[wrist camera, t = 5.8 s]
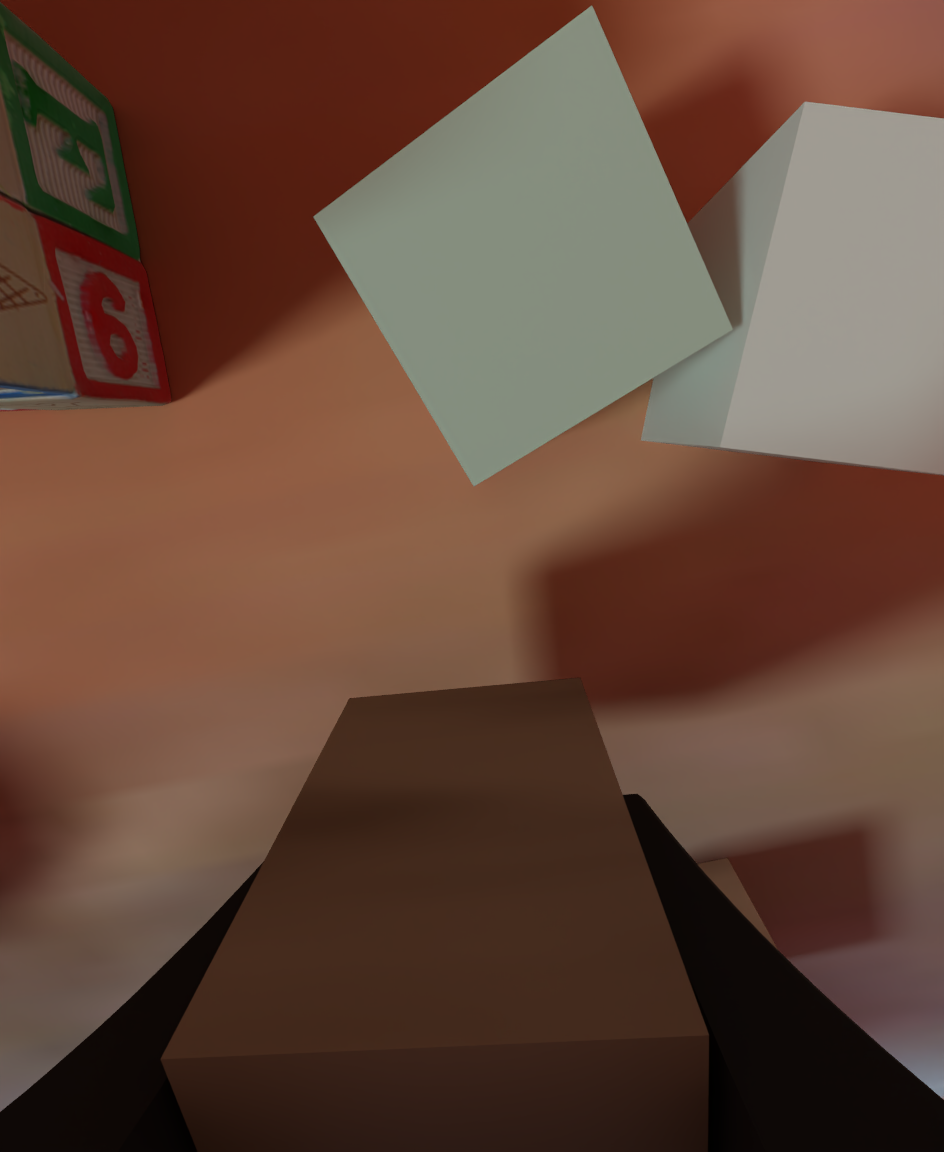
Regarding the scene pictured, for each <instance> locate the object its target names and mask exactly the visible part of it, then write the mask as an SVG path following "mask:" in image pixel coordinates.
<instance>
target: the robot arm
mask: <svg viewBox="0 0 944 1152" xmlns="http://www.w3.org/2000/svg"><path fill="white" fill-rule="evenodd" d="M623 798H624V801H625V803H626V806H627V809H628V812H629V814H630V817H631V820H632V823H633V826H634V828H635V831H636V834H637V837H638V839H639V842H640V845H641V848H642V851H643V853H644V856H645V859H646V862H647V864H648V867H649V870H650V873H651V875H652V878H653V881H654V884H655V887H656V889H657V892H658V895H659V898H660V900H661V903H662V906H663V909H664V912H665V914H666V917H667V920H668V923H669V925H670V928H671V931H672V934H673V936H674V939H675V942H676V945H677V948H678V950H679V953H680V956H681V959H682V961H683V964H684V967H685V970H686V973H687V975H688V978H689V981H690V984H691V986H692V989H693V992H694V995H695V998H696V1000H697V1003H698V1006H699V1009H700V1011H701V1014H702V1017H703V1020H704V1022H705V1025H706V1028H707V1031H708V1034H709V1096H708V1152H944V1100H943V1099H942V1098H941V1097H940V1096H938V1095H937V1094H936V1093H935V1092H934V1091H933V1090H931V1089H930V1088H929V1087H928V1086H927V1085H926V1084H924V1083H923V1082H922V1081H921V1080H920V1079H919V1078H917V1077H916V1076H915V1075H914V1074H913V1073H912V1072H910V1071H909V1070H908V1069H907V1068H906V1067H905V1066H903V1065H902V1064H901V1063H900V1062H899V1061H898V1060H896V1059H895V1058H894V1057H893V1056H892V1055H891V1054H889V1053H888V1052H887V1051H886V1050H885V1049H884V1048H882V1047H881V1046H880V1045H879V1044H878V1043H877V1042H876V1041H875V1040H873V1039H872V1038H871V1037H870V1036H869V1035H868V1034H867V1033H866V1032H865V1031H863V1030H862V1029H861V1028H860V1027H859V1026H858V1025H857V1024H856V1023H855V1022H853V1021H852V1020H851V1019H850V1018H849V1017H848V1016H847V1015H846V1014H845V1013H843V1012H842V1011H841V1010H840V1009H839V1008H838V1007H837V1006H836V1005H835V1004H834V1003H832V1002H831V1001H830V1000H829V999H828V998H827V997H826V996H825V995H824V994H823V993H822V992H821V991H820V990H819V989H817V988H816V987H815V986H814V985H813V984H812V983H811V982H810V981H809V980H808V979H807V978H806V977H805V976H804V975H803V974H802V973H801V972H800V971H799V970H798V969H797V968H796V967H794V966H793V965H792V964H791V963H790V962H789V961H788V960H787V959H786V958H785V957H784V956H783V955H782V954H781V953H780V952H779V951H778V950H777V949H776V948H775V947H774V946H773V945H772V944H771V943H770V942H769V941H768V940H767V939H766V938H765V937H764V936H763V935H762V934H761V933H760V932H759V931H758V930H757V928H756V927H755V926H754V925H753V924H752V923H751V922H750V921H749V920H748V919H747V918H746V917H745V916H744V915H743V914H742V913H741V912H740V911H739V910H738V909H737V908H736V906H735V905H734V904H733V903H732V902H731V901H730V900H729V899H728V898H727V897H726V896H725V894H724V893H723V892H722V891H721V890H720V889H719V888H718V887H717V886H716V885H715V884H714V882H713V881H712V880H711V879H710V878H709V877H708V876H707V875H706V874H705V873H704V871H703V870H702V869H701V868H700V867H699V866H698V865H697V863H696V862H695V861H694V860H693V859H692V858H691V857H690V855H689V854H688V853H687V852H686V851H685V849H684V848H683V847H682V846H681V845H680V844H679V842H678V841H677V840H676V839H675V838H674V836H673V835H672V834H671V833H670V832H669V830H668V829H667V828H666V827H665V825H664V824H663V823H662V822H661V820H660V819H659V818H658V817H657V815H656V814H655V813H654V811H653V810H652V809H651V808H650V806H649V805H648V804H647V802H646V801H645V800H644V799H643V798H642V797H641V796H640V795H638V794H629V795H623ZM263 863H264V862H263ZM263 863H262V864H263ZM262 864H261V865H260V866H259V867H258V868H257V869H256V871H255V872H254V873H253V874H252V875H251V876H250V877H249V878H248V879H247V880H246V881H245V882H244V883H243V885H242V886H241V887H240V888H239V889H238V890H237V891H236V892H235V893H234V894H233V895H232V896H231V897H230V898H229V899H228V900H227V902H226V903H225V904H224V905H223V906H222V907H221V908H220V909H219V910H218V911H217V912H216V913H215V914H214V915H213V916H212V917H211V919H210V920H209V921H208V922H207V923H206V924H205V925H204V926H203V927H202V928H201V929H200V930H199V931H198V932H197V933H196V934H195V935H194V936H193V937H192V938H191V939H190V940H189V941H188V942H187V943H186V944H185V945H184V946H183V947H182V948H181V949H180V950H179V951H178V952H177V953H176V954H175V955H174V956H173V957H172V958H171V959H170V960H169V961H168V962H167V963H166V964H165V965H164V966H163V967H162V968H161V969H160V970H159V971H158V972H157V973H156V974H155V975H153V976H152V977H151V978H150V979H149V980H148V981H147V982H146V983H145V984H144V985H143V986H142V987H141V988H140V989H139V990H138V991H137V992H136V993H135V994H134V995H133V996H132V997H131V998H130V999H129V1000H128V1001H127V1002H126V1003H125V1004H124V1005H123V1006H121V1007H120V1008H119V1009H118V1010H117V1011H116V1012H115V1013H114V1014H113V1015H112V1016H111V1017H110V1018H108V1019H107V1020H106V1021H105V1022H104V1023H103V1024H102V1025H101V1026H100V1027H99V1028H98V1029H96V1030H95V1031H94V1032H93V1033H92V1034H91V1035H90V1036H89V1037H87V1038H86V1039H85V1040H84V1041H83V1042H82V1043H81V1044H80V1045H78V1046H77V1047H76V1048H75V1049H74V1050H73V1051H72V1052H70V1053H69V1054H68V1055H67V1056H66V1057H65V1058H64V1059H62V1060H61V1061H60V1062H59V1063H58V1064H57V1065H56V1066H55V1067H53V1068H52V1069H51V1070H50V1071H49V1072H48V1073H47V1074H45V1075H44V1076H43V1077H42V1078H41V1079H40V1080H38V1081H37V1082H36V1083H35V1084H34V1085H33V1086H31V1087H30V1088H29V1089H28V1090H27V1091H25V1092H24V1093H23V1094H22V1095H21V1096H19V1097H18V1098H17V1099H16V1100H14V1101H13V1102H12V1103H11V1104H9V1105H8V1106H7V1107H6V1108H5V1109H3V1110H2V1111H1V1112H0V1152H197V1149H196V1147H195V1144H194V1142H193V1139H192V1137H191V1134H190V1132H189V1129H188V1127H187V1124H186V1122H185V1119H184V1117H183V1114H182V1112H181V1109H180V1107H179V1104H178V1102H177V1099H176V1097H175V1094H174V1092H173V1089H172V1087H171V1084H170V1082H169V1079H168V1077H167V1074H166V1072H165V1069H164V1067H163V1064H162V1062H161V1057H162V1055H163V1053H164V1052H165V1050H166V1048H167V1046H168V1044H169V1042H170V1040H171V1038H172V1036H173V1034H174V1032H175V1031H176V1029H177V1027H178V1025H179V1023H180V1021H181V1019H182V1017H183V1015H184V1013H185V1011H186V1010H187V1008H188V1006H189V1004H190V1002H191V1000H192V998H193V996H194V994H195V992H196V990H197V989H198V987H199V985H200V983H201V981H202V979H203V977H204V975H205V973H206V971H207V969H208V968H209V966H210V964H211V962H212V960H213V958H214V956H215V954H216V952H217V950H218V948H219V947H220V945H221V943H222V941H223V939H224V937H225V935H226V933H227V931H228V929H229V927H230V926H231V924H232V922H233V920H234V918H235V916H236V914H237V912H238V910H239V908H240V906H241V905H242V903H243V901H244V899H245V897H246V895H247V893H248V891H249V889H250V887H251V885H252V884H253V882H254V880H255V878H256V876H257V874H258V872H259V870H260V868H261V866H262Z"/></svg>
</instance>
